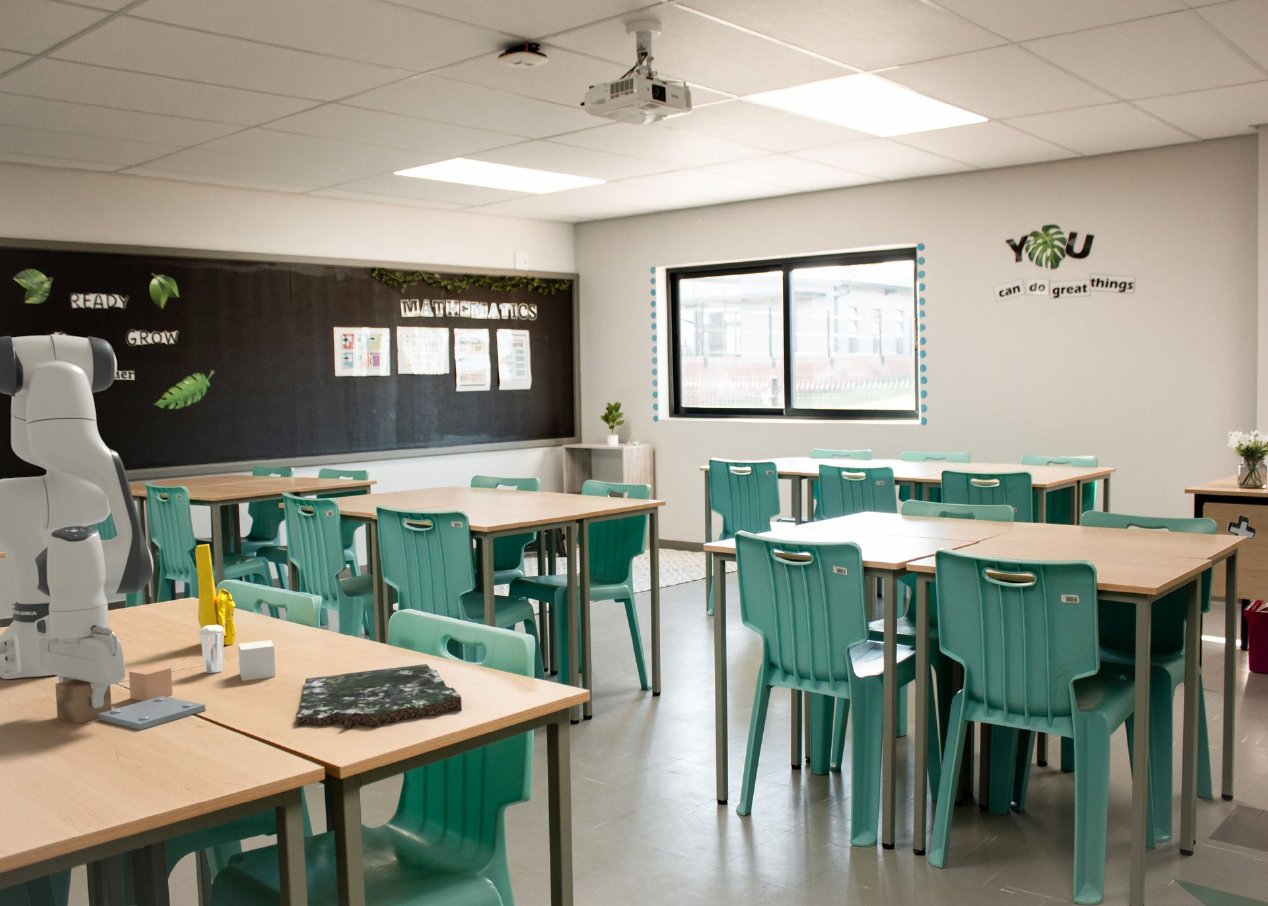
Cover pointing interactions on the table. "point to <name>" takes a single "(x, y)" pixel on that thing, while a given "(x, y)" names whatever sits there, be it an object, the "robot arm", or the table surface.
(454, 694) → the topographical map
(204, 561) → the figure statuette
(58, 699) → the block
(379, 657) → the table surface
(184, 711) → the plate
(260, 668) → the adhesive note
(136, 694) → the block
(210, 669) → the milkshake
